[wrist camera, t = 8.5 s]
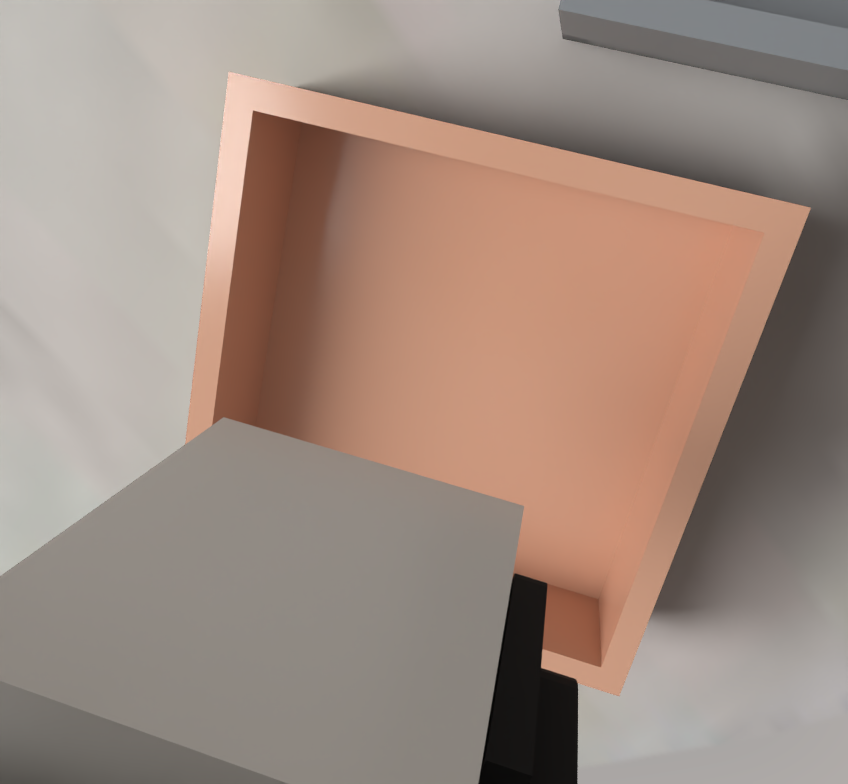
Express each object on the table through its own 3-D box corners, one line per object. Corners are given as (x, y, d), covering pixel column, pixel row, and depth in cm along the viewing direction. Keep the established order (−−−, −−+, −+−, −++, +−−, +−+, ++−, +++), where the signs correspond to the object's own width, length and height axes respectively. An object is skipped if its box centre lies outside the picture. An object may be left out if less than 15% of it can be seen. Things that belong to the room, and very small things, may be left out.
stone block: (223, 417, 12) (-98, 646, 6) (524, 506, 11) (466, 848, 6) (189, 662, 14) (-88, 1017, 8) (450, 751, 13) (349, 1203, 7)
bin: (292, 87, 23) (228, 72, 19) (766, 197, 22) (810, 208, 17) (232, 494, 28) (172, 552, 24) (613, 611, 27) (619, 696, 23)
